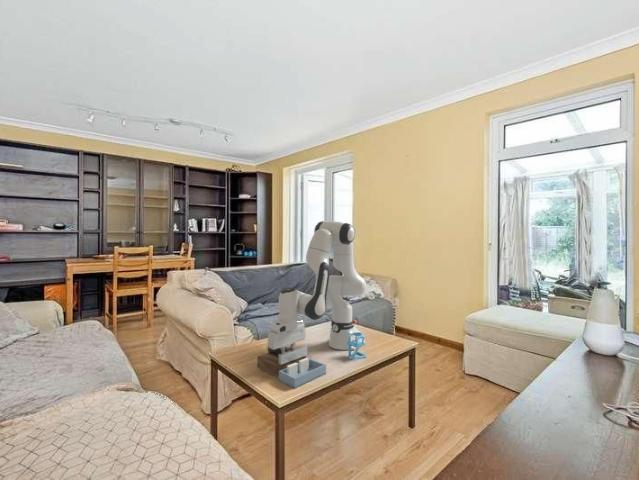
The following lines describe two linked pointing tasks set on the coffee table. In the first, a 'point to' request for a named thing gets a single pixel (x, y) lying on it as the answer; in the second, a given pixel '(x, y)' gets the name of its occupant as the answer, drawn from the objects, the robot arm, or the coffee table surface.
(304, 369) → the tile
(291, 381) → the box
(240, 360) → the coffee table surface
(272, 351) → the scraper
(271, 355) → the plate
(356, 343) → the light blue open frame
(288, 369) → the tile
